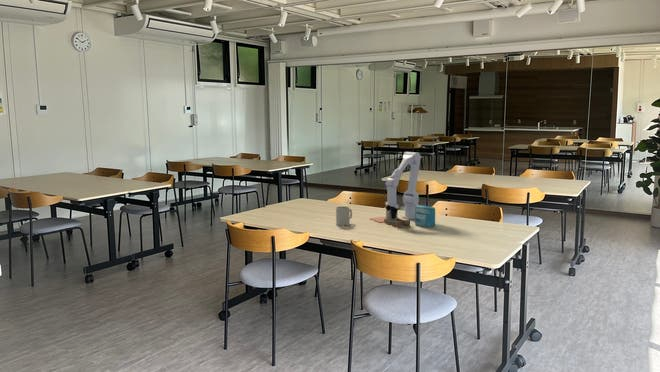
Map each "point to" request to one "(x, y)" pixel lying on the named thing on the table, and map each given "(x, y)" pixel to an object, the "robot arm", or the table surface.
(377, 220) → the mat
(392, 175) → the robot arm
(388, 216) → the blank block
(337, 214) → the mug
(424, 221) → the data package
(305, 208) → the table surface
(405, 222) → the frame
